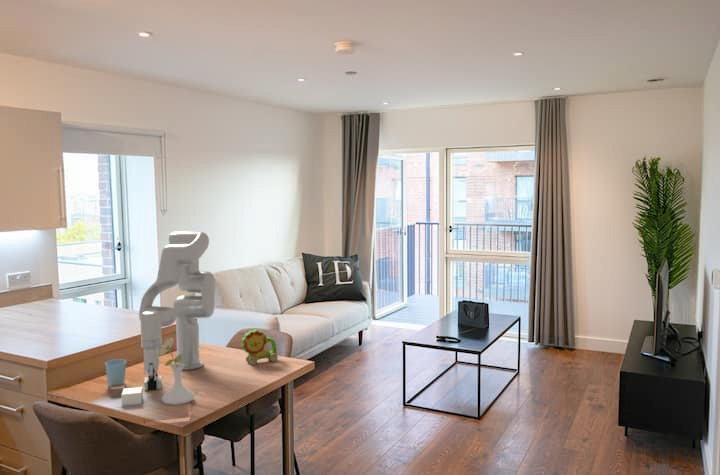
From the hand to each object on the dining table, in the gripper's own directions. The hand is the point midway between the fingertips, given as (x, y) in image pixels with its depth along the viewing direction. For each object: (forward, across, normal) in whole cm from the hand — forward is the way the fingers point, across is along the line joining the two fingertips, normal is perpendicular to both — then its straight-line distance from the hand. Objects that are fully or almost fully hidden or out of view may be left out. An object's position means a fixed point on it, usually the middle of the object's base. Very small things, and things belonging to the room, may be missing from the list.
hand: (153, 387), depth 221 cm
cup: (+1, -6, -14) cm, 15 cm away
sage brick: (+1, 0, 0) cm, 1 cm away
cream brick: (0, +14, -6) cm, 15 cm away
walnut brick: (+1, +4, -12) cm, 13 cm away
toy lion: (+1, -24, +44) cm, 50 cm away
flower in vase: (+1, +17, +9) cm, 20 cm away
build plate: (+1, +14, -6) cm, 15 cm away
